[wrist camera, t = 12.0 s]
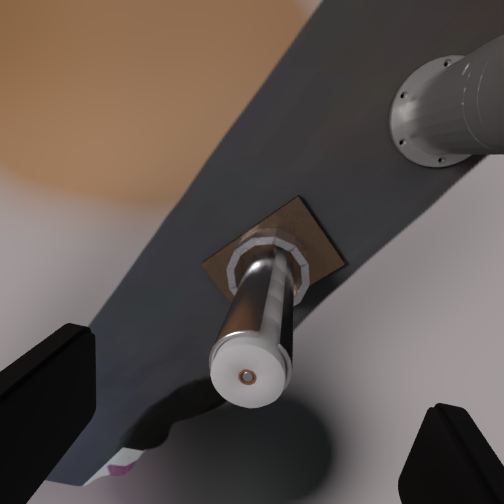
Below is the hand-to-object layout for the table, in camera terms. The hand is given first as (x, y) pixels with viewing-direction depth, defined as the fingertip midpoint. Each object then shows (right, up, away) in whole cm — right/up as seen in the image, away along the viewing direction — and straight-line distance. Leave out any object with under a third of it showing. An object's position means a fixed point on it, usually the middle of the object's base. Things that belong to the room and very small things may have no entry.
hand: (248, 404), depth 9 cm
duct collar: (+3, +3, +39) cm, 39 cm away
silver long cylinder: (+3, +3, +38) cm, 38 cm away
